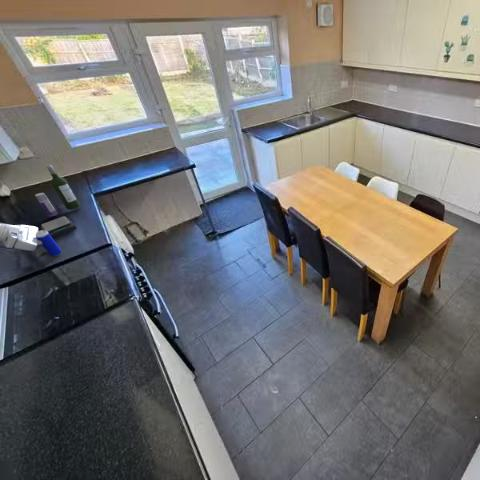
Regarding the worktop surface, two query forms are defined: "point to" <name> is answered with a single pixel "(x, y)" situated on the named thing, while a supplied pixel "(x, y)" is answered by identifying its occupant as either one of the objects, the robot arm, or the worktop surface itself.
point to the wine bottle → (63, 190)
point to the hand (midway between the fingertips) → (48, 241)
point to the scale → (62, 229)
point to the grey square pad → (55, 224)
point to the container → (46, 204)
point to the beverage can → (48, 243)
